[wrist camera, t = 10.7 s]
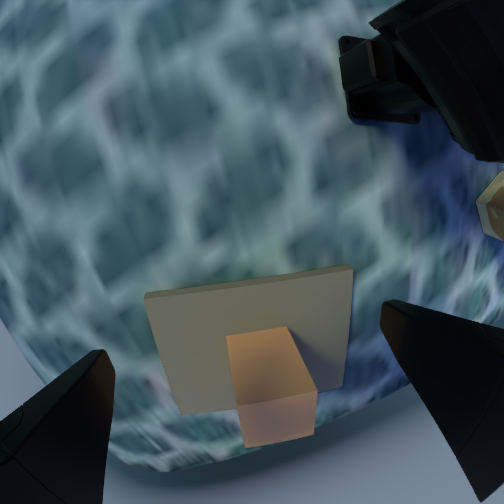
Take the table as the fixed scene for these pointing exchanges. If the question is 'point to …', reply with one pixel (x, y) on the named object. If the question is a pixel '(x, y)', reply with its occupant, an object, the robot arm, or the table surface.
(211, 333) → the rest mat
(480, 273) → the table surface
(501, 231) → the skincare box
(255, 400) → the terracotta block
